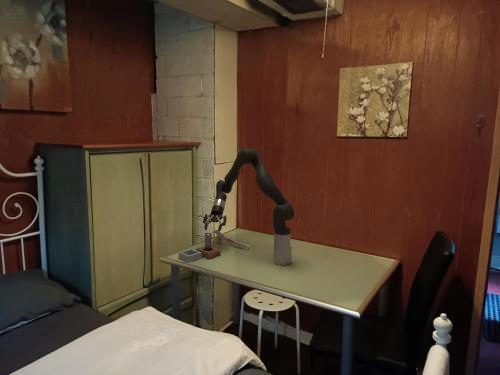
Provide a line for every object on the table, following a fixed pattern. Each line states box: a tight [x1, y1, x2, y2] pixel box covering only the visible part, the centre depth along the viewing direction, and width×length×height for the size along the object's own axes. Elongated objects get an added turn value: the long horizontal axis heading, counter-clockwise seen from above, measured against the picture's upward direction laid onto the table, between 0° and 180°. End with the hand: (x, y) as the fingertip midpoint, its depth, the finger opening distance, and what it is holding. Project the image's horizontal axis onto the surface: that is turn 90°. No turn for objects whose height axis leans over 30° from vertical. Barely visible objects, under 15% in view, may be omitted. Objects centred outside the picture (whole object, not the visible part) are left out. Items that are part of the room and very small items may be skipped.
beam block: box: [195, 245, 222, 260], centre depth 217 cm, size 12×9×4 cm
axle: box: [204, 232, 213, 251], centre depth 217 cm, size 4×4×13 cm
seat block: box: [178, 248, 203, 263], centre depth 211 cm, size 10×10×4 cm
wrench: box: [211, 229, 251, 251], centre depth 235 cm, size 8×2×30 cm
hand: (212, 230), depth 222 cm, fingers open, 8 cm apart
